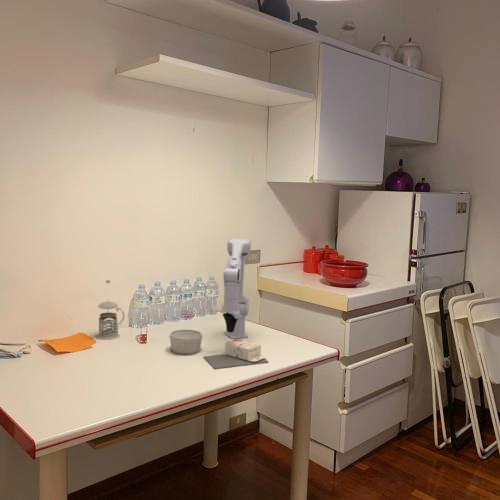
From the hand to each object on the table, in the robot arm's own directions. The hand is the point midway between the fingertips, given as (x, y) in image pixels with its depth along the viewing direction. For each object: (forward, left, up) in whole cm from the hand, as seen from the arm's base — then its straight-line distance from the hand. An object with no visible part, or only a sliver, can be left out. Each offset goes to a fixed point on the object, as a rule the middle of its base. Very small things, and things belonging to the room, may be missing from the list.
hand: (230, 331), depth 200 cm
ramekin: (-11, -15, -10) cm, 21 cm away
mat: (+6, 0, -9) cm, 11 cm away
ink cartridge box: (-2, +1, -7) cm, 7 cm away
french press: (-38, -41, -10) cm, 56 cm away
